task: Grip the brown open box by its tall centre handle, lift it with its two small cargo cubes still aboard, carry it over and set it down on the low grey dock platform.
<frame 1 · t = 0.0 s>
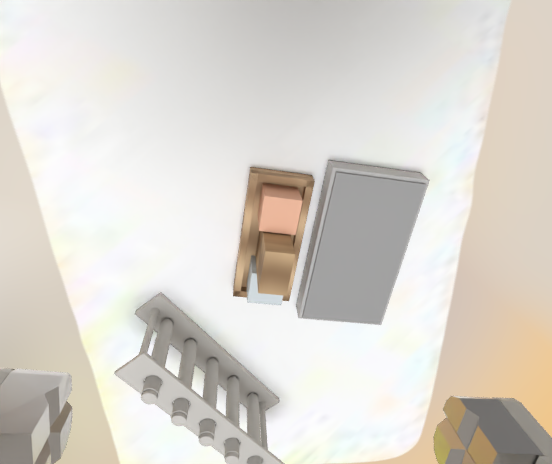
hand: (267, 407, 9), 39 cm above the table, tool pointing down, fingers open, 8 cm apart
test tube rack: (212, 356, 59), on the table
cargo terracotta: (277, 201, 48), point 1 cm above the table, touching brown open box
brown open box: (270, 232, 51), on the table, touching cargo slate, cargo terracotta
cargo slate: (265, 271, 52), point 1 cm above the table, touching brown open box
dock: (354, 243, 52), on the table
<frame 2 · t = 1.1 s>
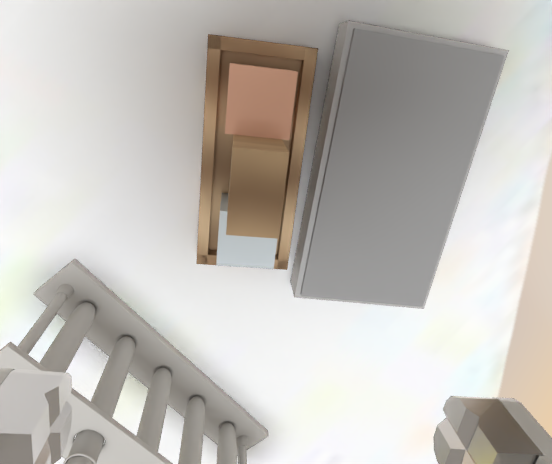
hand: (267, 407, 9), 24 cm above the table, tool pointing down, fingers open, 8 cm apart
test tube rack: (164, 365, 39), on the table
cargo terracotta: (257, 97, 29), point 1 cm above the table, touching brown open box
brown open box: (250, 157, 32), on the table, touching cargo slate, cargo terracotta
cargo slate: (246, 219, 32), point 1 cm above the table, touching brown open box
dock: (380, 176, 33), on the table
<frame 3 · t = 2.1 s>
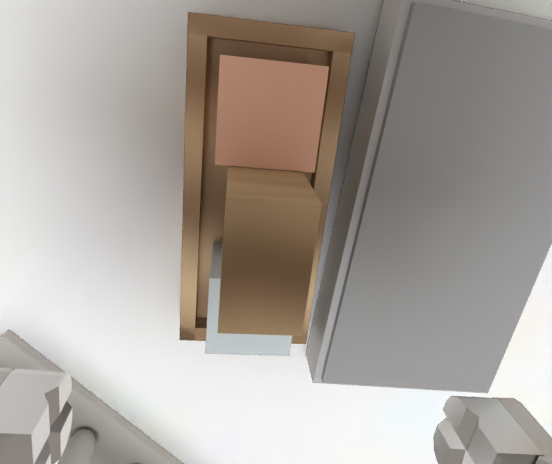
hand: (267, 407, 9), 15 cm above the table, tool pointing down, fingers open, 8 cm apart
test tube rack: (138, 459, 29), on the table
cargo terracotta: (263, 106, 20), point 1 cm above the table, touching brown open box
brown open box: (254, 190, 23), on the table, touching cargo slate, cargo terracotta
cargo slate: (248, 277, 23), point 1 cm above the table, touching brown open box
dock: (432, 215, 24), on the table
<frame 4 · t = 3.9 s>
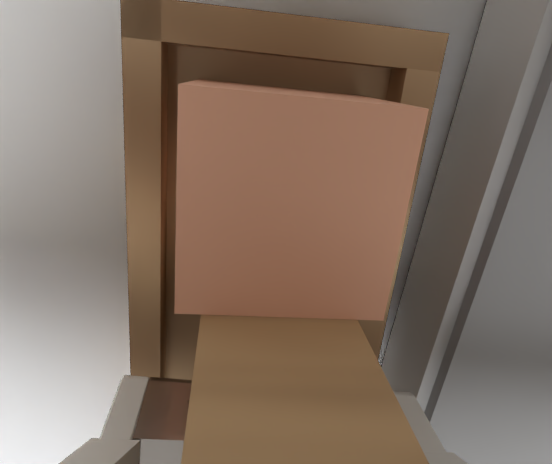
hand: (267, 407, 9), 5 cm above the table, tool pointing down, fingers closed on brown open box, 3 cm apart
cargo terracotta: (273, 168, 11), point 1 cm above the table, touching brown open box
brown open box: (256, 292, 14), on the table, touching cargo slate, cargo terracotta, gripper
dock: (542, 317, 15), on the table
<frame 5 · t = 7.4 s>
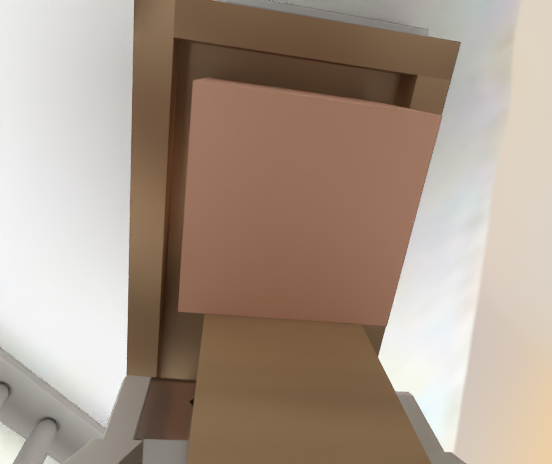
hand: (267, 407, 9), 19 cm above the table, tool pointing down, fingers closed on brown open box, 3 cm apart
test tube rack: (53, 415, 32), on the table
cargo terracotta: (279, 169, 11), point 16 cm above the table, touching brown open box
brown open box: (255, 293, 14), point 14 cm above the table, touching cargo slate, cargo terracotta, gripper
dock: (290, 187, 27), on the table
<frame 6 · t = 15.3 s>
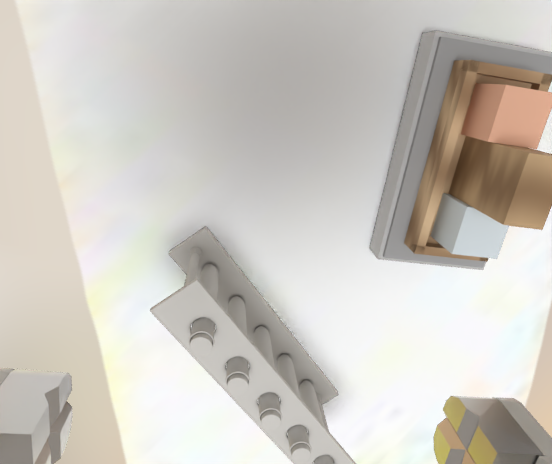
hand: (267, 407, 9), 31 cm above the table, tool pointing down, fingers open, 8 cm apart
test tube rack: (260, 325, 45), on the table
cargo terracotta: (490, 112, 34), point 4 cm above the table, touching brown open box
brown open box: (464, 163, 37), point 3 cm above the table, touching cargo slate, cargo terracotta, dock
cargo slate: (457, 217, 37), point 4 cm above the table, touching brown open box
dock: (448, 157, 40), on the table
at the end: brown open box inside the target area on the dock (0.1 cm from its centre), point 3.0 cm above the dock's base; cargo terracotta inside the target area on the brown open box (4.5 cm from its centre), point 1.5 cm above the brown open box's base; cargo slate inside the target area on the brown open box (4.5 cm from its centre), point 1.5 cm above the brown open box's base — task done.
